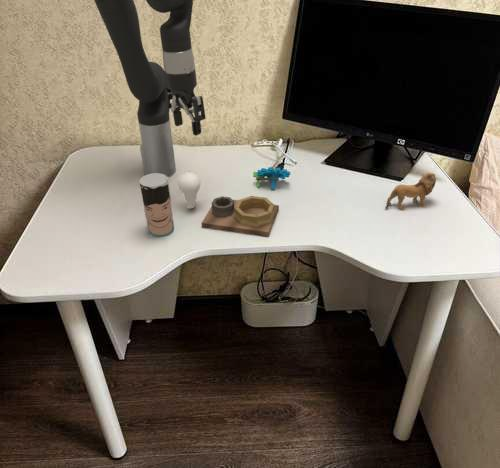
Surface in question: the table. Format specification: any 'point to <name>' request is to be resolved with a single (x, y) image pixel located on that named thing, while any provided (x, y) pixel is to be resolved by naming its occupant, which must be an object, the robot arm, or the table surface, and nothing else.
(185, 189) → the lightbulb
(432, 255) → the table surface
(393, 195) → the lion figurine
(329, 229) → the table surface
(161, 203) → the face-printed can
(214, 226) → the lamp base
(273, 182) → the gear
